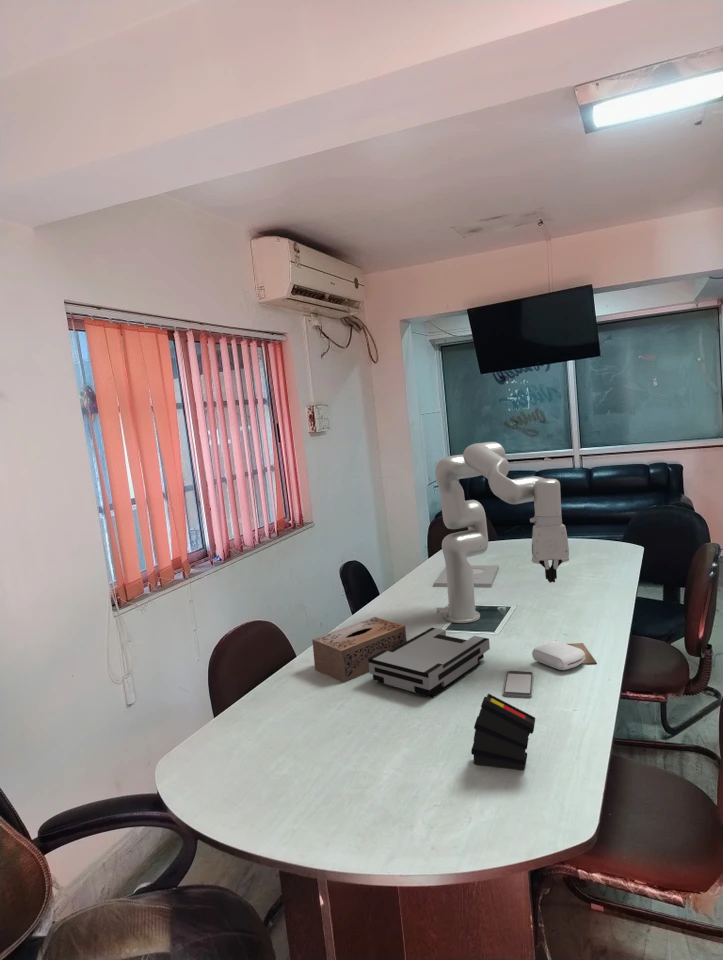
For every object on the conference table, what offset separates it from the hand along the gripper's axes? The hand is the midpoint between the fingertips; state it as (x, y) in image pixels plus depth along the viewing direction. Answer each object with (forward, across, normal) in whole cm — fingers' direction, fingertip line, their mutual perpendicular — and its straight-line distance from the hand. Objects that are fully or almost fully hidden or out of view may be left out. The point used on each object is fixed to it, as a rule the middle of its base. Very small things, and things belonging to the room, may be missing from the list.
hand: (551, 581), depth 185 cm
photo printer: (+20, -4, -2) cm, 21 cm away
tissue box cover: (+24, -59, +1) cm, 63 cm away
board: (+23, +4, 0) cm, 23 cm away
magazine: (+23, -23, -57) cm, 66 cm away
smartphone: (+24, -14, -19) cm, 33 cm away
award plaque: (+24, -19, +92) cm, 96 cm away
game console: (+24, -37, -8) cm, 45 cm away
